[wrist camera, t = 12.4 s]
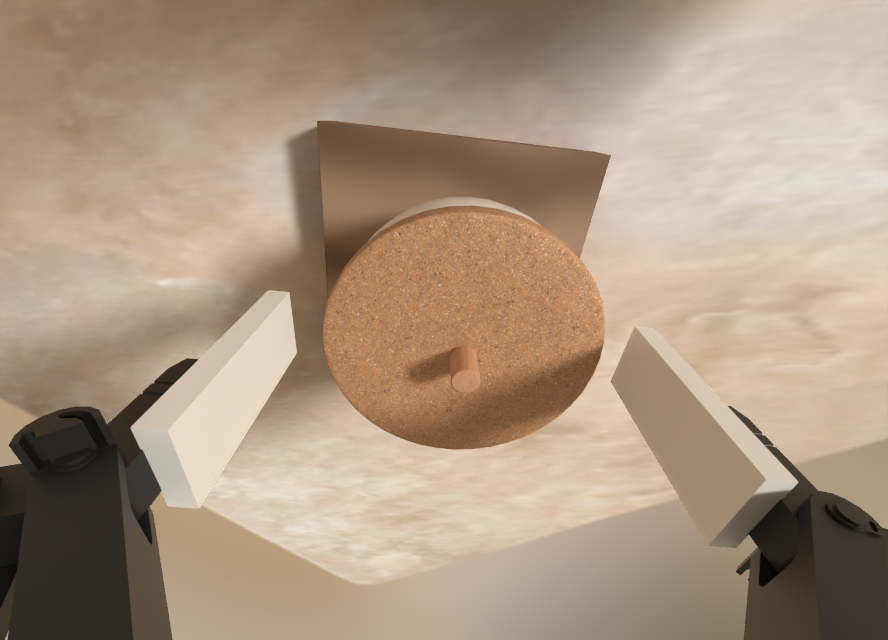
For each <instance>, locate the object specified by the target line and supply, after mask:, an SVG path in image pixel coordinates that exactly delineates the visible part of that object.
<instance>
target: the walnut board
mask: <svg viewBox="0 0 888 640" xmlns="http://www.w3.org/2000/svg"><path fill="white" fill-rule="evenodd" d="M317 125H318V141H319V158H320V175H321V191H322V208H323V224H324V241H325V257H326V274H327V290H328V299H329V296H330V293H331V291H332V288H333V286H334V285H335V283H336V281H337V279H338V278H339V276H340V274H341V273H342V271H343V269H344V268H345V266H346V265H347V263H348V262H349V261H350V260H351V259H352V257H353V256H354V255H355V254H356V253H357V252H358V251H359V249H360V248H361V247H362V246H363V245H364V244H366V243H367V242H368V241H369V239H370V238H371V237H372V236H373V235H374V234H375V233H376V232H377V231H378V230H379V229H380V228H382V227H383V226H384V225H385V224H387V223H388V222H389V221H390V220H392V219H393V218H395V217H396V216H398V215H400V214H401V213H403V212H405V211H407V210H408V209H410V208H412V207H415V206H417V205H420V204H423V203H426V202H428V201H432V200H437V199H443V198H448V197H474V198H481V199H488V200H491V201H495V202H498V203H501V204H504V205H507V206H509V207H512V208H514V209H516V210H518V211H520V212H521V213H523V214H525V215H527V216H529V217H531V218H532V219H533V220H535V221H536V222H537V223H539V224H540V225H541V226H543V227H545V228H546V229H547V230H549V231H550V232H551V233H553V234H554V235H555V236H557V237H558V238H559V239H561V240H562V241H563V242H564V243H565V244H567V246H568V247H569V248H570V249H571V250H572V251H573V252H574V253H575V254H576V256H577V257H578V258H580V255H581V252H582V248H583V245H584V242H585V238H586V235H587V232H588V229H589V225H590V222H591V219H592V215H593V212H594V209H595V205H596V202H597V199H598V196H599V192H600V189H601V186H602V182H603V179H604V176H605V173H606V169H607V166H608V163H609V159H610V156H611V155H607V154H602V153H598V152H592V151H583V150H575V149H566V148H558V147H549V146H541V145H532V144H524V143H515V142H507V141H498V140H490V139H481V138H473V137H464V136H456V135H447V134H439V133H430V132H422V131H413V130H405V129H396V128H388V127H379V126H371V125H362V124H354V123H345V122H337V121H317Z"/></svg>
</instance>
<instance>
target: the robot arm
mask: <svg viewBox="0 0 888 640" xmlns="http://www.w3.org/2000/svg"><path fill="white" fill-rule="evenodd" d="M296 354H297V348H296V340H295V333H294V325H293V317H292V309H291V301H290V293H289V292H283V291H273V290H268V291H267V292H266V293H265V294H264V295H263V296H262V297H261V298H260V299H259V300H258V301H257V302H256V303H255V304H254V305H253V306H252V307H251V308H250V309H249V310H248V311H247V312H246V313H245V314H244V315H243V316H242V317H241V318H240V319H239V320H238V321H237V322H236V323H235V324H234V325H233V326H232V327H231V328H230V329H229V330H228V331H227V332H226V333H225V334H224V335H223V336H222V337H221V338H220V339H219V340H218V341H217V342H216V343H215V344H214V345H213V346H212V347H211V348H210V349H209V350H208V351H207V352H206V353H205V354H204V355H203V356H202V357H201V358H200V359H188V358H187V359H185V360H183V361H181V362H179V363H178V364H176V365H174V366H172V367H170V368H168V369H167V370H166V371H165V372H164V373H163V374H162V375H161V376H160V377H158V378H157V379H156V380H155V382H154V384H151V385H150V386H149V387H148V388H146V389H145V390H144V391H143V394H140V395H139V396H138V397H137V398H136V399H135V400H133V401H132V402H131V403H130V404H129V405H128V406H127V407H126V408H125V409H124V410H123V411H121V412H120V413H119V414H118V415H117V416H116V417H115V418H114V419H113V420H112V421H111V422H109V423H108V424H106V422H105V420H104V418H103V416H102V414H101V413H100V411H99V410H98V409H95V408H92V407H72V408H67V409H62V410H58V411H56V412H53V413H50V414H47V415H45V416H42V417H40V418H39V419H37V420H35V421H33V422H31V423H30V424H28V425H26V426H25V427H24V428H23V429H22V430H20V431H19V432H18V433H17V434H16V435H15V436H14V437H13V439H12V441H11V443H10V444H9V447H10V448H11V449H12V450H13V452H14V453H15V455H16V456H17V457H18V459H19V460H20V461H21V463H22V464H16V465H10V466H4V467H0V640H5V638H6V636H7V633H8V631H9V634H8V640H172V634H171V628H170V621H169V614H168V608H167V602H166V595H165V588H164V582H163V575H162V568H161V563H160V555H159V549H158V543H157V536H156V529H155V523H154V516H153V513H152V511H151V509H150V505H151V504H152V503H153V501H154V500H155V499H156V497H157V496H158V495H159V493H160V492H161V493H162V496H163V498H164V500H165V502H166V504H167V506H172V507H185V508H186V507H187V508H200V506H201V505H202V503H203V502H204V500H205V498H206V497H207V495H208V494H209V492H210V491H211V489H212V487H213V486H214V484H215V483H216V481H217V479H218V478H219V476H220V475H221V473H222V471H223V470H224V468H225V467H226V465H227V463H228V462H229V460H230V459H231V457H232V455H233V454H234V452H235V451H236V449H237V448H238V446H239V444H240V443H241V441H242V440H243V438H244V436H245V435H246V433H247V432H248V430H249V428H250V427H251V425H252V424H253V422H254V420H255V419H256V417H257V416H258V414H259V413H260V411H261V409H262V408H263V406H264V405H265V403H266V401H267V400H268V398H269V397H270V395H271V393H272V392H273V390H274V389H275V387H276V385H277V384H278V382H279V381H280V379H281V377H282V376H283V374H284V373H285V371H286V370H287V368H288V366H289V365H290V363H291V362H292V360H293V358H294V357H295V355H296ZM611 383H612V384H613V386H614V388H615V390H616V391H617V393H618V395H619V396H620V398H621V400H622V401H623V403H624V405H625V406H626V408H627V410H628V411H629V413H630V415H631V416H632V418H633V420H634V422H635V423H636V425H637V427H638V428H639V430H640V432H641V433H642V435H643V437H644V438H645V440H646V442H647V443H648V445H649V447H650V449H651V450H652V452H653V454H654V455H655V457H656V459H657V460H658V462H659V464H660V465H661V467H662V469H663V470H664V472H665V474H666V475H667V477H668V479H669V481H670V482H671V484H672V486H673V487H674V489H675V491H676V492H677V494H678V496H679V497H680V499H681V501H682V502H683V504H684V506H685V507H686V509H687V511H688V512H689V514H690V516H691V517H692V519H693V521H694V523H695V524H696V526H697V528H698V529H699V531H700V533H701V534H702V536H703V538H704V539H705V541H706V543H707V544H708V546H718V547H731V548H736V547H737V546H738V545H739V544H740V543H741V542H742V541H743V540H744V539H745V538H746V537H747V536H748V535H750V536H751V538H752V539H753V540H754V542H755V544H756V545H757V546H758V548H757V549H756V550H754V551H753V553H752V554H750V556H748V557H747V559H745V560H744V561H743V562H742V563H741V564H740V565H739V566H738V568H737V570H736V573H738V574H739V575H741V574H742V573H743V572H744V571H746V570H747V569H750V575H749V579H748V580H749V587H748V597H747V609H746V620H745V621H746V622H745V632H744V640H888V530H887V529H884V528H882V527H881V526H880V525H879V524H878V523H877V522H876V521H875V520H874V519H873V518H872V517H871V516H870V515H868V514H867V513H866V512H865V511H863V510H862V509H861V508H859V507H858V506H856V505H854V504H853V503H851V502H849V501H848V500H846V499H844V498H842V497H839V496H837V495H834V494H832V493H827V492H822V491H818V490H817V489H816V488H815V487H814V486H813V485H812V484H811V483H810V482H809V481H808V480H807V479H806V478H805V477H804V476H803V475H802V474H801V473H800V472H799V471H798V469H797V468H795V466H794V465H793V464H792V463H791V462H790V461H789V460H788V459H787V458H786V457H785V456H784V455H783V454H782V453H781V452H780V451H779V450H778V449H777V448H776V447H773V444H772V443H771V442H770V441H769V439H768V438H767V437H766V436H762V432H761V431H760V430H759V429H758V428H757V427H756V426H755V425H754V424H753V423H752V422H751V421H750V420H749V419H748V418H747V417H745V416H744V415H742V414H741V413H739V412H738V411H737V410H735V409H734V408H732V407H731V406H727V405H726V404H725V403H724V402H723V401H722V400H721V399H720V398H719V397H718V395H717V394H716V393H715V392H714V391H713V390H712V389H711V388H710V387H709V386H708V385H707V384H706V383H705V382H704V381H703V379H702V378H701V377H700V376H699V375H698V374H697V373H696V372H695V371H694V370H693V369H692V368H691V367H690V366H689V365H688V363H687V362H686V361H685V360H684V359H683V358H682V357H681V356H680V355H679V354H678V353H677V352H676V351H675V350H674V349H673V347H672V346H671V345H670V344H669V343H668V342H667V341H666V340H665V339H664V338H663V337H662V336H661V335H660V334H659V333H658V331H657V330H656V329H655V328H649V327H639V326H635V327H634V329H633V332H632V334H631V336H630V339H629V341H628V343H627V345H626V348H625V350H624V352H623V355H622V357H621V359H620V361H619V364H618V366H617V368H616V371H615V373H614V375H613V377H612V380H611Z"/></svg>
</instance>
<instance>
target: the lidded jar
mask: <svg viewBox="0 0 888 640" xmlns="http://www.w3.org/2000/svg"><path fill="white" fill-rule="evenodd" d="M604 334H605V317H604V310H603V304H602V300H601V297H600V294H599V291H598V289H597V286H596V283H595V281H594V280H593V278H592V276H591V275H590V273H589V271H588V270H587V268H586V266H585V265H584V263H583V262H582V261H581V260H580V259H579V258H578V257H577V256H576V254H575V253H574V252H573V251H572V250H571V249H570V248H569V247H568V246H567V244H565V243H564V242H563V241H562V240H561V239H559V238H558V237H557V236H555V235H554V234H553V233H551V232H550V231H549V230H547V229H546V228H545V227H543V226H541V225H540V224H539V223H537V222H536V221H535V220H533V219H532V218H531V217H529V216H527V215H525V214H523V213H521V212H520V211H518V210H516V209H514V208H512V207H509V206H507V205H504V204H501V203H498V202H495V201H491V200H488V199H481V198H474V197H448V198H443V199H437V200H432V201H428V202H426V203H423V204H420V205H417V206H415V207H412V208H410V209H408V210H407V211H405V212H403V213H401V214H400V215H398V216H396V217H395V218H393V219H392V220H390V221H389V222H388V223H387V224H385V225H384V226H383V227H382V228H380V229H379V230H378V231H377V232H376V233H375V234H374V235H373V236H372V237H371V238H370V239H369V241H368V242H367V243H366V244H364V245H363V246H362V247H361V248H360V249H359V251H358V252H357V253H356V254H355V255H354V256H353V257H352V259H351V260H350V261H349V262H348V263H347V265H346V266H345V268H344V269H343V271H342V273H341V274H340V276H339V278H338V279H337V281H336V283H335V285H334V286H333V288H332V291H331V293H330V296H329V299H328V302H327V305H326V307H325V314H324V320H323V347H324V351H325V356H326V360H327V364H328V366H329V369H330V371H331V374H332V376H333V378H334V381H335V382H336V384H337V385H338V387H339V388H340V390H341V391H342V393H343V395H344V396H345V397H346V398H347V399H348V401H349V402H350V403H351V404H352V405H353V406H354V408H355V409H356V410H357V411H358V412H360V413H361V414H362V415H363V416H364V417H366V418H367V419H368V420H369V421H371V422H372V423H374V424H375V425H377V426H378V427H380V428H381V429H383V430H384V431H386V432H389V433H391V434H393V435H395V436H397V437H400V438H402V439H405V440H408V441H411V442H414V443H416V444H420V445H425V446H431V447H436V448H445V449H475V448H484V447H491V446H495V445H499V444H503V443H507V442H510V441H513V440H516V439H519V438H522V437H525V436H527V435H529V434H531V433H532V432H534V431H536V430H538V429H540V428H542V427H544V426H545V425H547V424H548V423H550V422H551V421H553V420H554V419H556V418H557V417H558V416H559V415H561V414H562V413H563V412H564V411H565V410H566V409H567V408H568V407H569V406H571V404H572V403H573V402H574V401H575V400H576V399H577V398H578V397H579V395H580V394H581V393H582V392H583V390H584V389H585V387H586V385H587V384H588V382H589V380H590V379H591V377H592V376H593V373H594V371H595V369H596V366H597V364H598V362H599V359H600V356H601V352H602V347H603V343H604Z"/></svg>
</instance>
